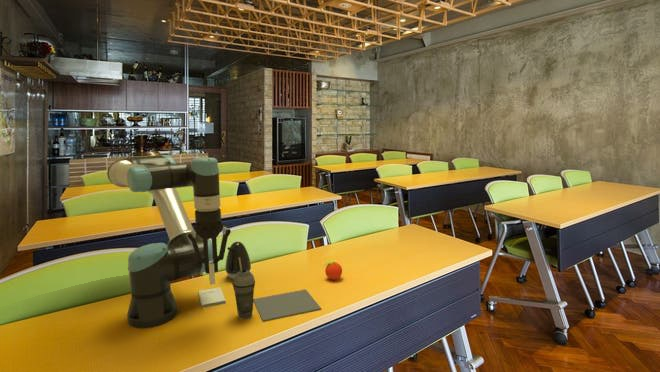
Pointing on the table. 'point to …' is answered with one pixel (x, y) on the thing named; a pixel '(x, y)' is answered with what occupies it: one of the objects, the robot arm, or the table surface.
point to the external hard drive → (211, 297)
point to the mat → (285, 305)
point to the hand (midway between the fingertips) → (212, 282)
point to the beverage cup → (244, 292)
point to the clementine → (333, 270)
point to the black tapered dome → (237, 259)
